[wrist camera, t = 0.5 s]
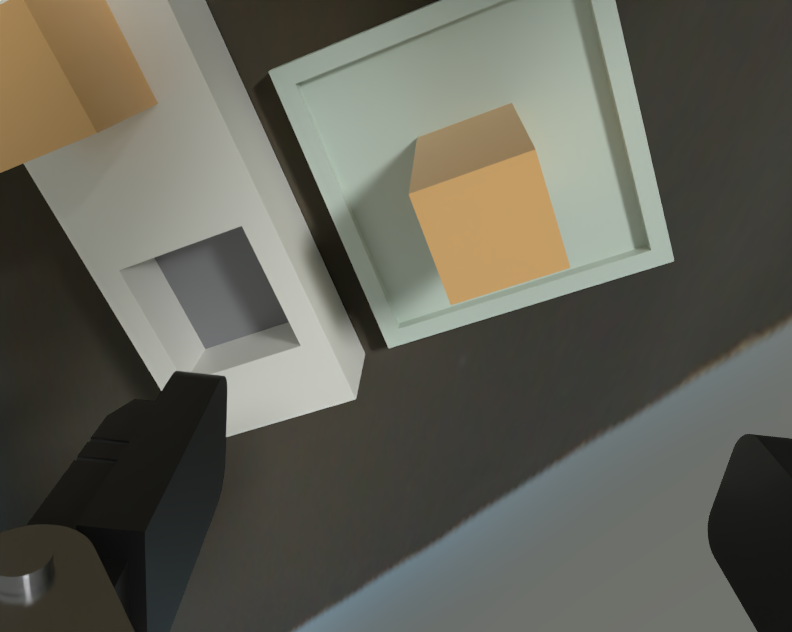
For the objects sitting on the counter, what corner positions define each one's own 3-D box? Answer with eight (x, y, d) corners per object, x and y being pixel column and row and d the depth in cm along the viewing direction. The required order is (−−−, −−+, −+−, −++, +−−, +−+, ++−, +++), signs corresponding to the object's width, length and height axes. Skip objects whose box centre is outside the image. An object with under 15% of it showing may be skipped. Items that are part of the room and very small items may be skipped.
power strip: (137, -150, 25) (-5, -205, 17) (365, 353, 34) (340, 473, 26) (-207, 24, 29) (-460, 46, 21) (79, 441, 38) (-20, 570, 29)
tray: (593, -64, 26) (600, -65, 25) (666, 250, 31) (674, 260, 30) (274, 67, 28) (268, 71, 27) (390, 336, 34) (388, 348, 32)
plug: (512, 102, 28) (535, 149, 21) (539, 194, 29) (570, 268, 22) (417, 137, 29) (408, 194, 22) (449, 225, 30) (451, 305, 23)
